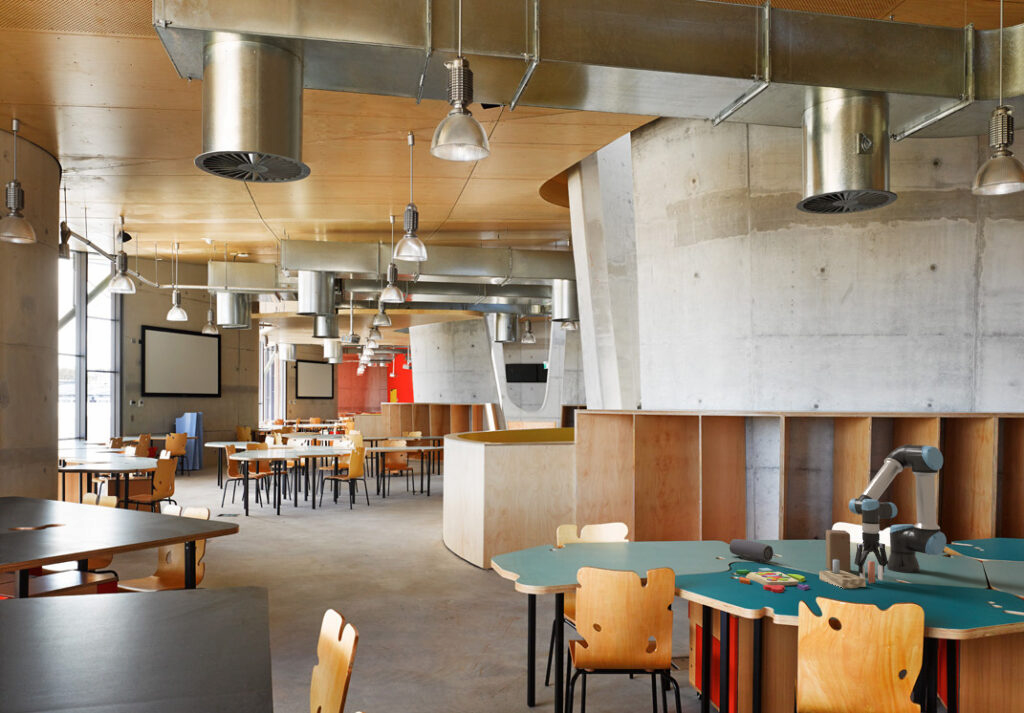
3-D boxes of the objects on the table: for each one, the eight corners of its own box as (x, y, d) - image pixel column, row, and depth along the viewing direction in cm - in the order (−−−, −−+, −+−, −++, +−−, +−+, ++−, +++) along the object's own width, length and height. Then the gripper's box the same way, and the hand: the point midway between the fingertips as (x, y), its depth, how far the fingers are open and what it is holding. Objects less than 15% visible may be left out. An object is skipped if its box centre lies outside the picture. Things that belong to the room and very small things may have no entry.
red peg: (872, 582, 363) (872, 561, 364) (876, 583, 360) (876, 562, 361) (866, 582, 363) (866, 561, 363) (870, 583, 360) (870, 562, 360)
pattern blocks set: (718, 576, 373) (718, 569, 374) (771, 571, 387) (771, 564, 387) (773, 594, 338) (773, 587, 339) (829, 588, 352) (829, 581, 352)
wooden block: (851, 573, 381) (850, 533, 382) (829, 572, 383) (829, 532, 384) (846, 569, 391) (845, 530, 392) (825, 568, 393) (825, 529, 394)
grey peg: (837, 580, 366) (836, 559, 366) (841, 581, 363) (840, 560, 363) (831, 580, 365) (831, 559, 366) (835, 582, 362) (835, 560, 363)
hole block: (841, 578, 370) (841, 570, 370) (865, 587, 352) (865, 578, 352) (819, 579, 367) (819, 571, 368) (842, 588, 350) (842, 579, 350)
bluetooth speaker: (774, 562, 406) (774, 543, 406) (763, 564, 400) (763, 545, 401) (739, 555, 424) (739, 537, 425) (728, 556, 419) (728, 538, 420)
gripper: (885, 530, 369) (886, 577, 367) (845, 531, 364) (846, 578, 363) (896, 532, 361) (897, 580, 360) (855, 533, 357) (856, 582, 356)
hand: (871, 579), depth 362 cm, fingers open, 9 cm apart
